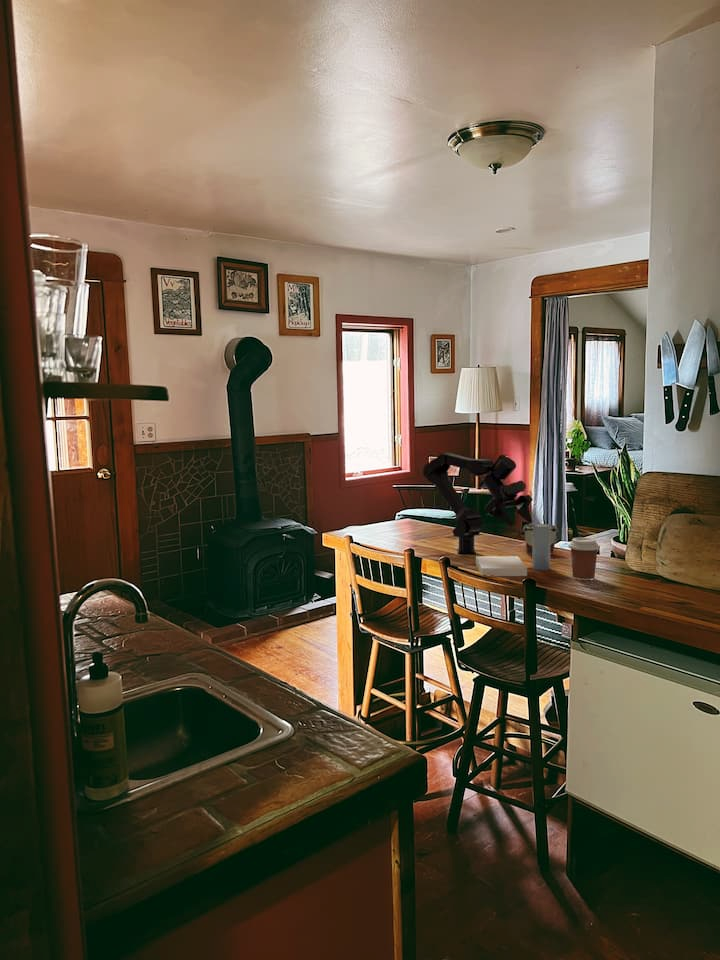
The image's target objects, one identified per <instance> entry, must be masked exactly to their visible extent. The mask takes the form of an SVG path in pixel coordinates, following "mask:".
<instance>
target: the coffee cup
mask: <svg viewBox="0 0 720 960" xmlns="http://www.w3.org/2000/svg"><path fill="white" fill-rule="evenodd" d="M568 548H569V549H570V559H571V570H572V572H571V573H572V579H573V578H574V579H573V580H575V579H577V580H576V581H580V580H591V579H594V578H595V576H596V567H597V557H598V550H600V549H601V548H600V544H598V542H597V540H596V539H595V538H592V537H574V538H572V539H571V542H570V543H568ZM594 580H595V579H594ZM591 581H592V580H591Z"/></svg>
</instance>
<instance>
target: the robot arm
mask: <svg viewBox="0 0 720 960" xmlns="http://www.w3.org/2000/svg"><path fill="white" fill-rule="evenodd" d="M451 466H453V467H456V468H460V469H463V470H467V471H468V472H469V474H471V475H473V476H475V477H483V476H484V478H481V479H480V480H479V488H486V489H487V490H488V492H489V493H490V495H489V498H490V500H489V501H488V502H487V503H486V505H485V506H484V513H486V515H487V516H490V517H492V518H495V519H497V520H499V521H501V522H503V523H505V524H506V525H507V526H508V525H509V526H510V527H513V526H514V525H515V523H514V522H513V519H512V518H511V517H510V515H509V513H508V510H507V508H513V509H514V510H515V511H516V513H517V514H518V515H519V516H520V517H522V519H524V520H525V521H526V522H528V523H529V524H533V519H532V514H531V510H530V505H531V503H532V502H533V500H534V499H533V497H532V496H531V495H530V494H522V495H519V496H518V494H519V493H522V492H524V491H525V489H527V488H526V487H527V485H526V483H525V482H524V481H523V480H517V481H515V482H512V483H510V484H505V482H504V481H503V480H507V479H508V478H509V476H510V475H511V474H512V473H513V472H514V471H515V469H516V468H517V463H516V461H514V460H513V459H511V458H510V457H508V456H506V454H500V455H499V456H498V458H497V459H496V460H495V462H493V459H489V458H471V457H468V456H463V455H459V454H456V453H453V452H442V453H440V454H439V455H437V457H436V458H434V459H432V460H431V461H429V462H428V463H426V464H425V465H424V468H423V469H422V473H423V477H425V479H426V480H427V481H428V482H429V483H431V484H433V485H434V486H436V487H437V489H438V490H439V492H440V493H441V495H442V496H443V498H444V499H445V501H446V502H447V504H448V505H449V507H450V508H451V509H452V512H453V513H454V514H455V523H456V526H455V527H454V528H453V530H452V535H453V537H457V538H458V548H457V549H456V552H457V554H459V555H466V554H467V555H468V554H469V555H470V554H473V555H476V554H477V551H476V548H475V537H476V536H480V533H481V530H482V526H483V520H482V519H481V518H482V516H481V515H480V514H479V513H478V510H476V508H468V507H467V505H466V503H465V502H464V501H463V499H462V498H461V496H460V494H459V493H458V492H457V490H456V489H455V488H454V486H453V484H452V483H451V481H450V479H449V472H448V471H449V470H450V468H451ZM517 497H518V498H517ZM516 498H517V499H516Z"/></svg>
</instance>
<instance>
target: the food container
mask: <svg viewBox="0 0 720 960" xmlns="http://www.w3.org/2000/svg"><path fill="white" fill-rule="evenodd" d="M538 524H539V523H529V524H525V525H524V526H523V528H522V532H524V539H525V549H526V550H525V552H526V555H533V525H538ZM542 524H543V525H550V526H551V533H550V553H554V551H555V544H556V536H557V533H559V530H558V527H557V525H554V524H548V523H547V524H545V523H542Z"/></svg>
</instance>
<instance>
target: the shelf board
mask: <svg viewBox="0 0 720 960" xmlns="http://www.w3.org/2000/svg"><path fill="white" fill-rule="evenodd" d="M475 565H476V567H477V569H478V571H479V574H480V573H481V574H482V575H493V576H492V577H527V576H528V567H527V566H526V565H525V564H524V562H523V561H522V560H521V559H520V557H519V556H517V555H516V556H515V555H514V556H513V555H511V556H509V555H508V556H501V555H500V556H499V555H497V556H495V555H494V556H489V555H488V556H487V555H485V556H480V555H479V556H477V555H476V556H475ZM481 574H480V575H481Z"/></svg>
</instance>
